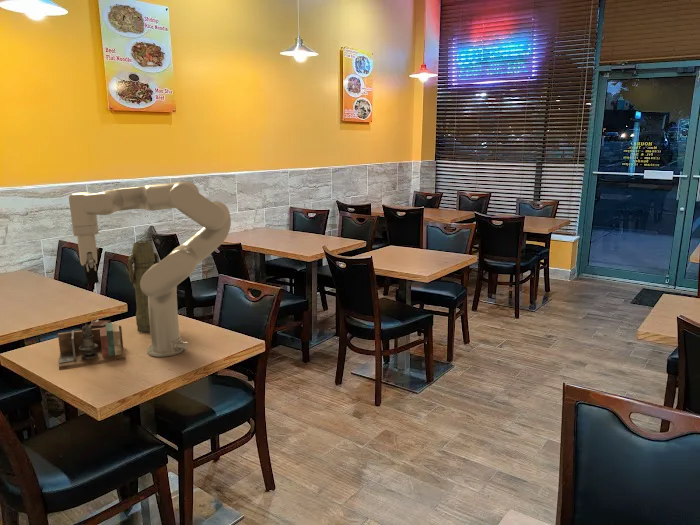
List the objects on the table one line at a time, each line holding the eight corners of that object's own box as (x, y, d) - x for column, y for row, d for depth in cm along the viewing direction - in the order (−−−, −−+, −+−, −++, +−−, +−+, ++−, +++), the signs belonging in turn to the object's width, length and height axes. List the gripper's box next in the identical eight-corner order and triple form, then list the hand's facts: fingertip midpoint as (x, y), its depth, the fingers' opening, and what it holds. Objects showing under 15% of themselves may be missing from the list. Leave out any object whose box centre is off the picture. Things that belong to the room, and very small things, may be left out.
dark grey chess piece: (103, 354, 185) (99, 321, 182) (90, 360, 180) (86, 326, 177) (89, 352, 187) (85, 319, 184) (75, 358, 181) (72, 324, 179)
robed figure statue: (168, 327, 216) (162, 240, 208) (143, 335, 206) (135, 245, 198) (154, 322, 220) (148, 238, 213) (129, 331, 211) (121, 242, 203)
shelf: (123, 346, 195) (120, 319, 193) (125, 359, 184) (122, 331, 182) (60, 355, 187) (57, 327, 185) (59, 369, 175) (55, 340, 173)
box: (105, 344, 197) (103, 325, 195) (89, 344, 197) (87, 325, 195) (113, 338, 203) (111, 320, 201) (97, 338, 203) (95, 320, 201)
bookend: (76, 351, 187) (74, 330, 186) (76, 361, 179) (73, 338, 178) (60, 354, 185) (57, 332, 183) (59, 363, 177) (56, 340, 176)
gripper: (72, 227, 185) (78, 276, 189) (74, 234, 170) (81, 287, 174) (96, 225, 188) (102, 273, 192) (100, 232, 173) (106, 284, 177)
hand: (92, 279), depth 183 cm, fingers open, 9 cm apart
